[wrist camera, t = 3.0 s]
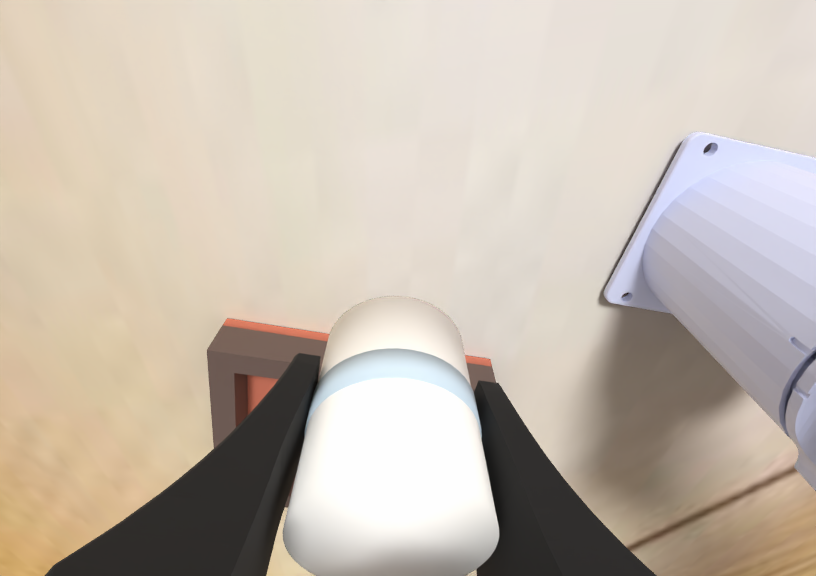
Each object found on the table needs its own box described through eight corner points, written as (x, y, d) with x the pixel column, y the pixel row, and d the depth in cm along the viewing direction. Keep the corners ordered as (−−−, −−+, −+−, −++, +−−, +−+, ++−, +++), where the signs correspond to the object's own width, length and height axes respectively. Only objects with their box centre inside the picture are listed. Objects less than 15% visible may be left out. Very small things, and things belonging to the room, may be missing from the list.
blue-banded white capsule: (481, 307, 13) (533, 488, 8) (445, 408, 15) (467, 599, 10) (333, 283, 12) (284, 461, 7) (319, 392, 15) (276, 584, 10)
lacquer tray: (490, 359, 23) (498, 392, 20) (438, 488, 29) (441, 524, 27) (227, 318, 21) (206, 350, 19) (232, 463, 27) (217, 499, 25)
